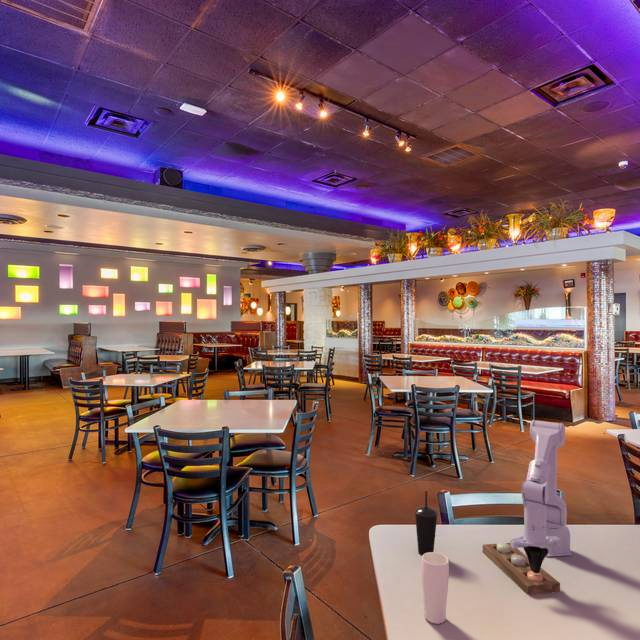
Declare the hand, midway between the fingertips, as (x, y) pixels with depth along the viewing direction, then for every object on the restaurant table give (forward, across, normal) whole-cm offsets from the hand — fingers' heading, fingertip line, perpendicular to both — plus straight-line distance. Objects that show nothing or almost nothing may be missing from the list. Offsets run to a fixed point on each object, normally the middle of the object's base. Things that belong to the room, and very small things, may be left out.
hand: (534, 571), depth 128 cm
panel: (+4, 0, +8) cm, 9 cm away
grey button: (+3, 0, +8) cm, 8 cm away
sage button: (+3, 0, +16) cm, 16 cm away
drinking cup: (+4, -24, +22) cm, 33 cm away
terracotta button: (+4, 0, 0) cm, 4 cm away
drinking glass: (+4, -35, -10) cm, 37 cm away
